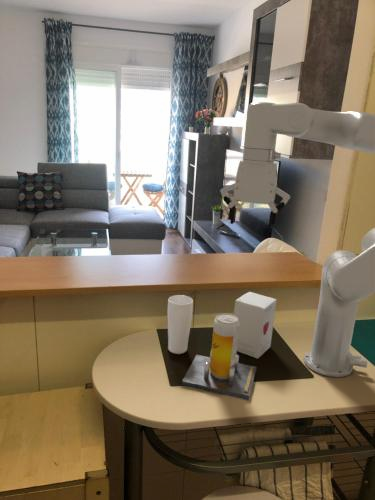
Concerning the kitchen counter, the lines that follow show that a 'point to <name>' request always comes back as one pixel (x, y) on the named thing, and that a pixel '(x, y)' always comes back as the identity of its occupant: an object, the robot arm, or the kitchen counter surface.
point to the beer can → (224, 345)
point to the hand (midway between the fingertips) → (251, 225)
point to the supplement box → (254, 323)
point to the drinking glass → (179, 322)
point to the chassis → (233, 386)
